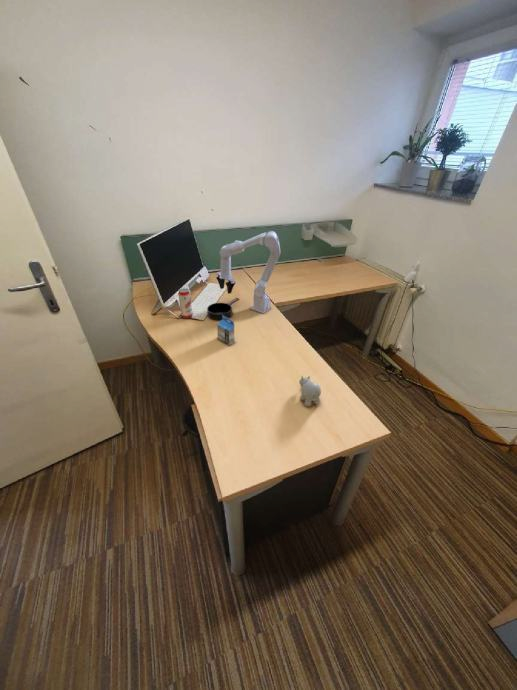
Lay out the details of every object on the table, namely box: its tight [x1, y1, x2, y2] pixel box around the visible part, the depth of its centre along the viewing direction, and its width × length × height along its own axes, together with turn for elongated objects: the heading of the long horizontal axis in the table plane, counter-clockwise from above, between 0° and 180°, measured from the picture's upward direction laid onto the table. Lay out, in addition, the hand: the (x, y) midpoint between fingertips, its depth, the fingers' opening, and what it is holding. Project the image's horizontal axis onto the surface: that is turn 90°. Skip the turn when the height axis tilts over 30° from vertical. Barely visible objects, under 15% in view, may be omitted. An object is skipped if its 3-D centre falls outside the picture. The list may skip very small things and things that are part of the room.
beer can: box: [177, 288, 194, 320], centre depth 150 cm, size 6×6×16 cm
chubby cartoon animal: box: [298, 375, 322, 408], centre depth 105 cm, size 7×12×8 cm, turn 16°
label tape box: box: [216, 315, 235, 346], centre depth 133 cm, size 9×4×12 cm, turn 47°
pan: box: [206, 297, 240, 322], centre depth 160 cm, size 14×24×4 cm, turn 145°
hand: (225, 290), depth 160 cm, fingers open, 7 cm apart
